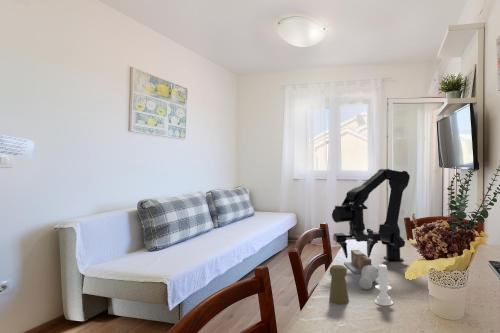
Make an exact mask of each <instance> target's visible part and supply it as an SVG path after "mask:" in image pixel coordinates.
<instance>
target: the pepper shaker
mask: <svg viewBox="0 0 500 333" xmlns="http://www.w3.org/2000/svg"><path fill="white" fill-rule="evenodd" d="M329 273H330V274H329V275H330V276H331V280H330V291H329V299H328V300H330V301H331V302H332V304H334V303H336V304H335V305H346V304H349V302H350V298H349V293H348V287H347V281H346V276H347V273H348V272H347V268H346V267H345V266H344V265H342V264H333V265H331V266H330V268H329ZM330 301H329V302H330ZM331 302H330V303H331Z"/></svg>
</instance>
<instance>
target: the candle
mask: <svg viewBox="0 0 500 333" xmlns="http://www.w3.org/2000/svg"><path fill="white" fill-rule="evenodd" d="M377 270H378V284H377V285H375V286H374V287H375V288H376V289H377V290H379V291H380V292H379V294H378V295H377V296H376V299H375V300H374V303H375V304H376V305H380V306H384V307H385V306H386V307H387V306H388V307H389V306H393V304H394V302H393V300H391V296H389V295H388V291H390V290H392V287H391V286H390V285H388V281H389V280H388V267H387V265H386V264H383V263H381V264H378V266H377Z"/></svg>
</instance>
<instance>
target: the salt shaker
mask: <svg viewBox="0 0 500 333" xmlns="http://www.w3.org/2000/svg"><path fill="white" fill-rule="evenodd" d="M377 270H378V268H376V267H375V266H374V267H373V264H371V265H367V266H365V267H364V268H363V269H362V272H361V273H360V274H361V277H360V278H359V281H358V283H359V286H360V288H361V289H363V290H364V291H365V290H366V291H368V290H370V289H372V287H373V282H375V281H376V280H377V279H378V278H379V276H378V271H377Z"/></svg>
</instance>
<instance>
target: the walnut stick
mask: <svg viewBox="0 0 500 333" xmlns="http://www.w3.org/2000/svg"><path fill="white" fill-rule="evenodd" d="M350 259H351V261H350V262H352V263H353V264H355V265H356V266H357V267H358V268H359V269H360V270H361V271H362V269H363V268H364V267H365V266H367V265H372V259H371V257H368V256H367V254H365V253H363V251H360V250H359V249H351V250H350Z"/></svg>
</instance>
